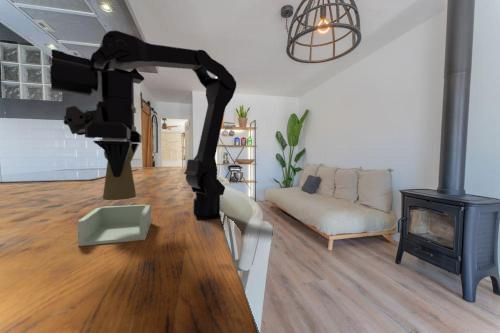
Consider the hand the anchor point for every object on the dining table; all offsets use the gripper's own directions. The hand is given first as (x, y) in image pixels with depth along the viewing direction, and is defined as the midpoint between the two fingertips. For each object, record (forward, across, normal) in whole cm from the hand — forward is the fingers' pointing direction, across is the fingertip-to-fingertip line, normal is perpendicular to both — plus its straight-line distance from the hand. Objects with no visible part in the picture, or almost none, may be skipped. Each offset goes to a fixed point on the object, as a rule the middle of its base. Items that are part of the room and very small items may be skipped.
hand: (119, 175), depth 46 cm
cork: (+5, 0, 0) cm, 5 cm away
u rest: (+12, 0, 0) cm, 12 cm away
